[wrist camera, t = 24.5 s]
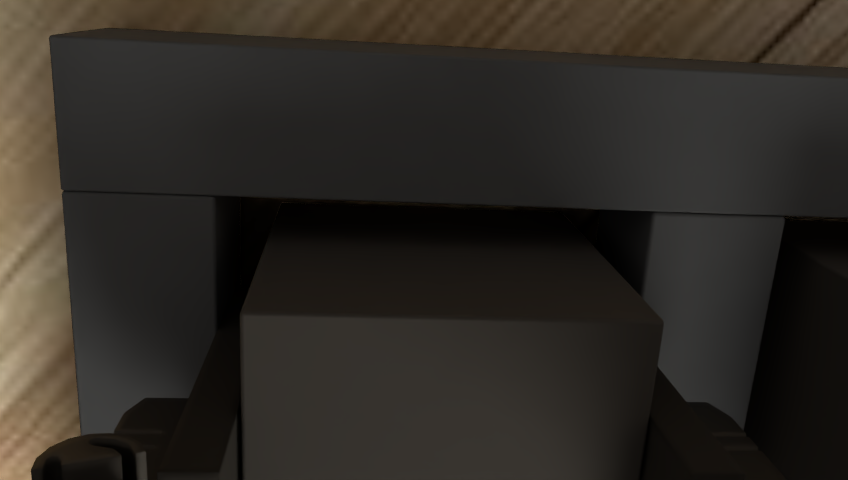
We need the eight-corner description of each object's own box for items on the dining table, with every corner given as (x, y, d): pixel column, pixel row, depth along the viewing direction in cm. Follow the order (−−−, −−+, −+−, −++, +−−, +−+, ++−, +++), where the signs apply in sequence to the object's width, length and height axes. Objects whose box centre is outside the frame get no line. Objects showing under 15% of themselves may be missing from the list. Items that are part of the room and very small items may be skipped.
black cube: (562, 211, 17) (666, 321, 11) (535, 455, 19) (613, 657, 13) (280, 201, 16) (238, 311, 11) (279, 454, 18) (243, 664, 12)
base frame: (106, 27, 15) (47, 35, 12) (1177, 85, 17) (1340, 103, 14) (138, 573, 19) (98, 678, 16) (1018, 566, 21) (1123, 656, 18)
